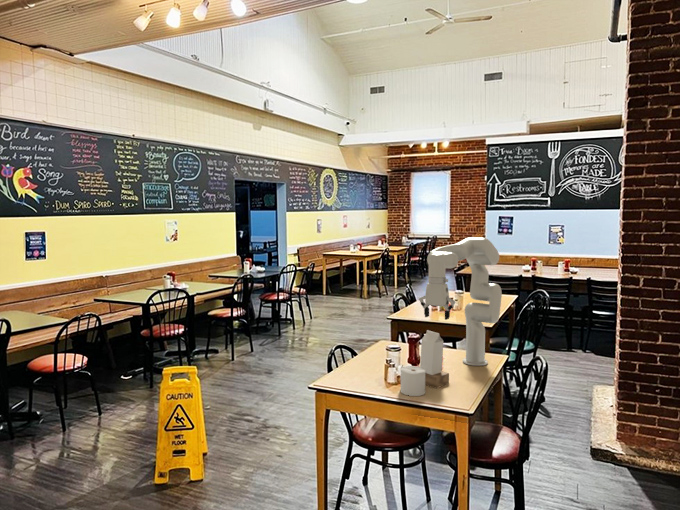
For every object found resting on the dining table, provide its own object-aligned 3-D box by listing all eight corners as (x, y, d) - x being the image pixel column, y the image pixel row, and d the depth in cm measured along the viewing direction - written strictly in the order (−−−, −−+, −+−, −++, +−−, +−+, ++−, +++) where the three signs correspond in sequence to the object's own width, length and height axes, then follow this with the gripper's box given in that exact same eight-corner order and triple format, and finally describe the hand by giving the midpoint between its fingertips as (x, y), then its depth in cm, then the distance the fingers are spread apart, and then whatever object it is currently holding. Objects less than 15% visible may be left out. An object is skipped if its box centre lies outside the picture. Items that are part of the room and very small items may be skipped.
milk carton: (432, 375, 224) (434, 334, 222) (419, 371, 229) (421, 331, 227) (441, 372, 229) (444, 332, 226) (429, 368, 234) (431, 329, 232)
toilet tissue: (420, 398, 209) (420, 375, 208) (394, 393, 215) (394, 370, 214) (428, 390, 218) (429, 368, 218) (403, 386, 224) (403, 364, 223)
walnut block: (431, 378, 235) (431, 368, 235) (448, 383, 228) (449, 373, 228) (418, 383, 228) (418, 373, 228) (435, 389, 221) (436, 378, 221)
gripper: (458, 281, 223) (458, 318, 224) (423, 278, 232) (422, 314, 234) (451, 283, 216) (451, 321, 218) (415, 280, 226) (415, 317, 228)
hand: (436, 317), depth 226 cm, fingers open, 9 cm apart
